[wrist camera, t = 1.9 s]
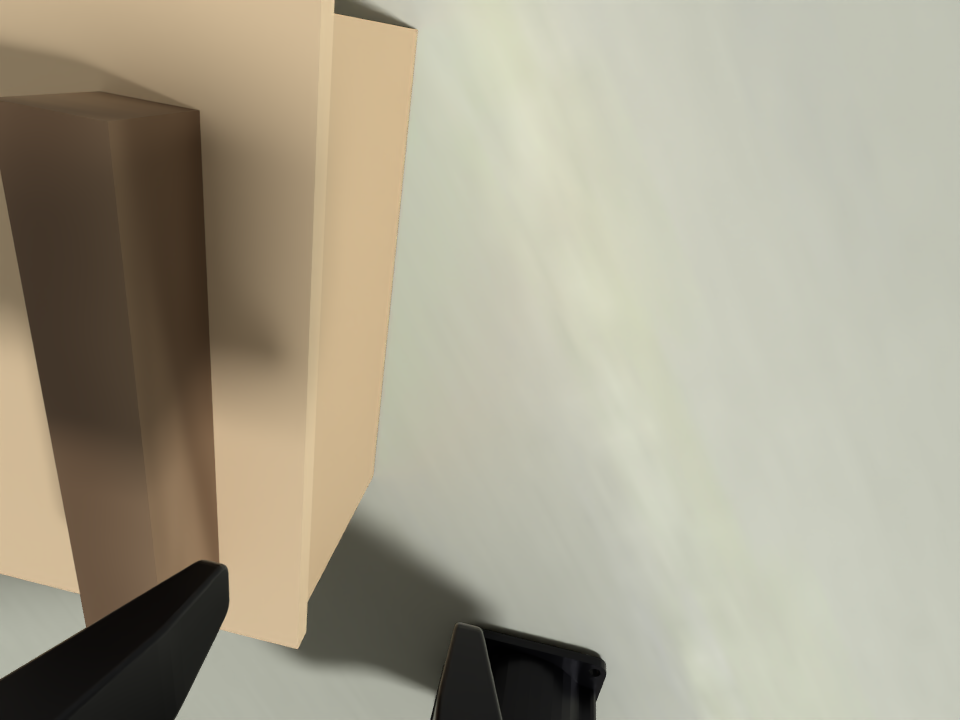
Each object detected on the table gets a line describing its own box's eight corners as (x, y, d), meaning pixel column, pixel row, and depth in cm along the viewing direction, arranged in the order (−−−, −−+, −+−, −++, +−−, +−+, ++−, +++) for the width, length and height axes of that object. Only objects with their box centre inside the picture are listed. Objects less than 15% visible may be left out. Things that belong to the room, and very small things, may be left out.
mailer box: (417, 29, 18) (324, 11, 11) (373, 476, 25) (300, 614, 19) (-212, -83, 19) (-603, -154, 13) (-82, 371, 26) (-291, 467, 20)
